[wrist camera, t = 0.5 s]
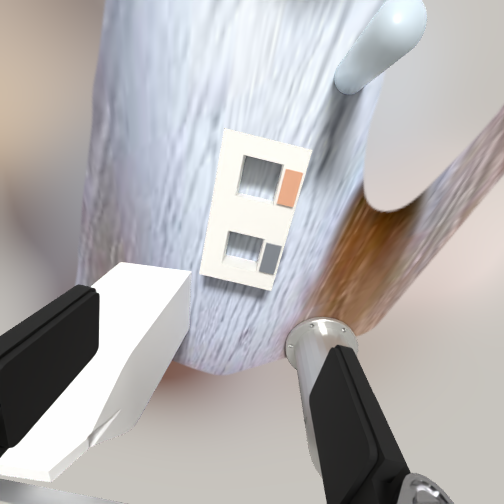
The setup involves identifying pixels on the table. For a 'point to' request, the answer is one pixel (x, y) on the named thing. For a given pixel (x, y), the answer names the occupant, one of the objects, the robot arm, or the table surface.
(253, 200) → the socket block
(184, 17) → the table surface
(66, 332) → the robot arm
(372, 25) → the plug
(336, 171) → the table surface
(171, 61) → the table surface
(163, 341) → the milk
